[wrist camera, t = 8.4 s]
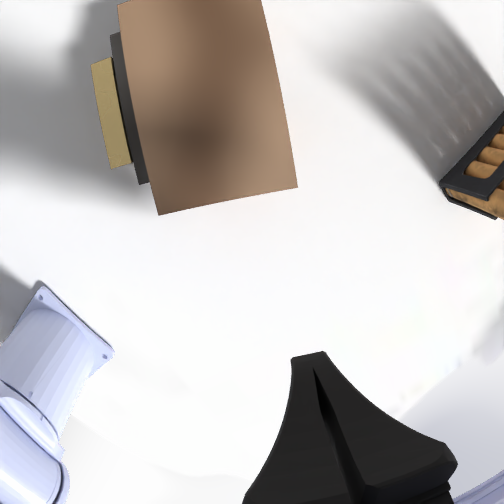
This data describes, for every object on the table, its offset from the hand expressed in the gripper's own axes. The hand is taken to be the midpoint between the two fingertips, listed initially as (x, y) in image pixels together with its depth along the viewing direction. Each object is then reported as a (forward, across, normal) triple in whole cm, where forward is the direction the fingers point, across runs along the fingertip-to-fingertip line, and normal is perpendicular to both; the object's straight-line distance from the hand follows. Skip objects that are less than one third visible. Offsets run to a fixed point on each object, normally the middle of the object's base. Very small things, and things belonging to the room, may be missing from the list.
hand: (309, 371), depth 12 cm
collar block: (+9, +2, -12) cm, 15 cm away
